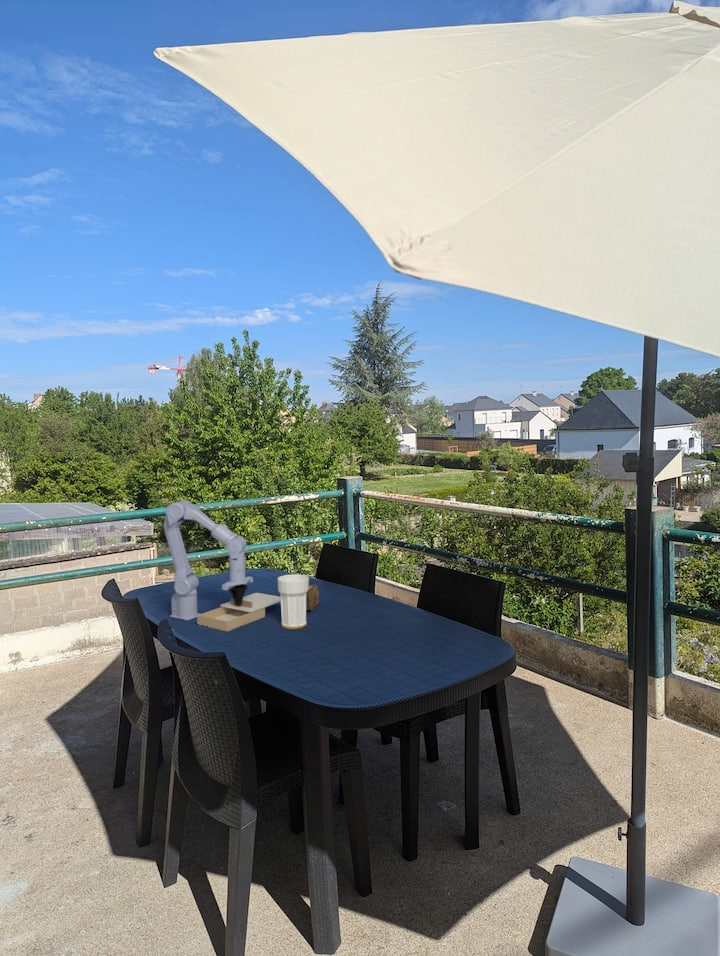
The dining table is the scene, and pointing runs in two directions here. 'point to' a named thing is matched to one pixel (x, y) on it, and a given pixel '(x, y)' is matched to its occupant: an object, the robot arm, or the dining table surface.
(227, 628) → the box
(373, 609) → the dining table surface
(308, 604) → the tin
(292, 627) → the cup
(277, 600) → the mailer lid
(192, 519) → the robot arm
